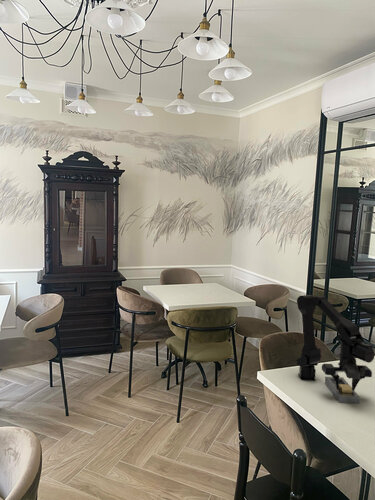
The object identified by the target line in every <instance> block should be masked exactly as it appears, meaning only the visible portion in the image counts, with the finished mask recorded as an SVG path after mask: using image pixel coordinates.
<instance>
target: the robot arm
mask: <svg viewBox="0 0 375 500" xmlns="http://www.w3.org/2000/svg"><path fill="white" fill-rule="evenodd" d="M296 304H297V309H298V310H299V312H300V313H301V321H302V331H303V346H302V349H301V354H300V355H301V356H300V357H299V358H297V359H296V361H295V362H296V365H297V366H299V367H298V368H299V370H298V371H299V372H298V374H297V376H298V378H299V379H300V380H301V381H313V382H315V381H316V379H315V378H316V373H317V371H316V368H315V366H318V364H319V363H320V361H321V359H322V354H321V353H322V350H321V349H320V348H318V347H317V345H316V338H315V337H316V336H315V325H314V324H315V323H314V312H315V310H316V307H318V308H319V309H320V310H321V312H323V313H324V315H325V316H326V317H327V318H328V319H329V320H330V321H331V322H332V323H333V325H334V328H335V331H336V332H337V334H338V335H339V337H337V338H336V339H335V340H336V341H338V342H340V348H339V349H340V350H339V353H338V357H339V362H338V364H337V365H338V366H334V365H333V364H332V363H323V364H322V365H321V371H322V372H323V373H324V374H325V375H326V376H330V377H333V379H334V382H335V386H336V389H337V390H338V388H339V377H341V376H340V375H339V373H344V374H345V376H346V377H347V378H348V379H351V387H352V390H353V391H355V389H356V387H357V386H358V384H359V382H360V381H361V380H362V379H365V378H373V372H372V370H371V369H370V368H369V367H368V366H367V365H360V364H357V359H359V360H361V361H363V362H365V363H367V364H368V363H372V362H373V360H374V359H375V351H374V349H373V348H372V344H367V343H365V340H364V337H363V336H362V333H361V332H360V328H359V326H358V325H357V324H355V323H354V322H353V321H352V320H351V319H350V320H349V319H348V318H346V317H344V316H343V315H342V314H341V312H339V311H338V310H337V309H336V307H334V306H333V305H332V303H331V302H330V301H329V300H328V298H327V297H326V296H324V295H321V296H317V295H316V296H314V295H312V294H303V295H299V296H298V297H297V299H296Z"/></svg>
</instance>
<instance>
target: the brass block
mask: <svg viewBox="0 0 375 500" xmlns="http://www.w3.org/2000/svg"><path fill="white" fill-rule="evenodd" d="M349 385H350V384H349ZM349 385H345V384H339V391H340V393H341V394H352V388H351V387H352V386H351V385H350V386H351V387H350V386H349Z"/></svg>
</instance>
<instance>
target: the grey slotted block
mask: <svg viewBox="0 0 375 500" xmlns="http://www.w3.org/2000/svg"><path fill="white" fill-rule="evenodd" d="M339 384H345V385H349V386H350V387H351V388H352V385H350V384H349V383H348V381H347V380H346V379H345V378H344V376H343V377H341V376H340V377H339ZM324 385H326V386H327V388H328V390H329V391H330V392H331V394H332V395H333V397H334V398H335V399H336V401H337V402H338V403H340V404H355V405H357V404H358V405H359V404H360V396H359V394H358V393H357V392H356V391H355V390H354V391H353V390H352V394H341V393H340V391H339V388H338V390H337V389H336V386H335V382H334V379H333V377H332V376H325V377H324Z"/></svg>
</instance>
